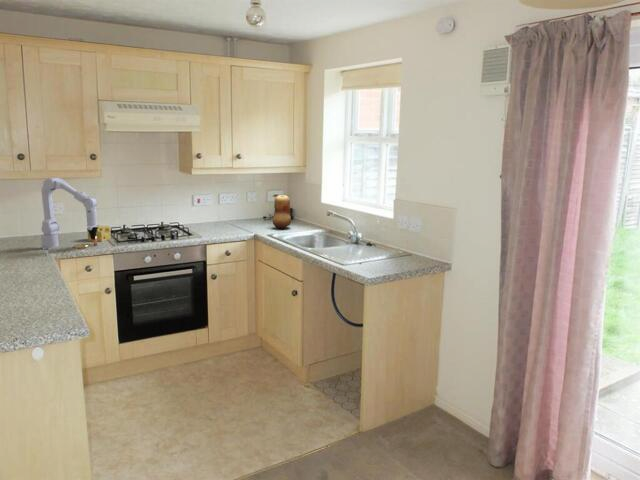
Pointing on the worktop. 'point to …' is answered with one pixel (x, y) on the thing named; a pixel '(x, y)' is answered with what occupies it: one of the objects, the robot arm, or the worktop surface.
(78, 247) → the cam capstan
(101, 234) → the cheese
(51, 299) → the worktop surface
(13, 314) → the worktop surface
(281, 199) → the butternut squash
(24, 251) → the worktop surface
